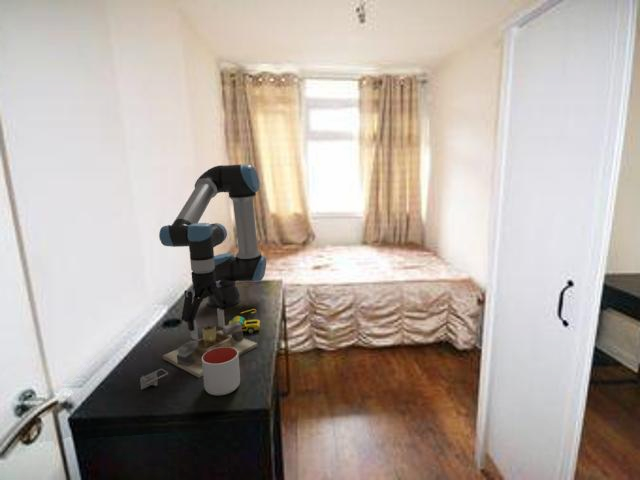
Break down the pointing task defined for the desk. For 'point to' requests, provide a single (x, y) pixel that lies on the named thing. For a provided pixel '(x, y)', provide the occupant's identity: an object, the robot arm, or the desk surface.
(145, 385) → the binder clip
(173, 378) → the desk surface
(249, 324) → the toy car
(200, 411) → the desk surface
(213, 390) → the cup
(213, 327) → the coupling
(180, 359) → the shaft rig
